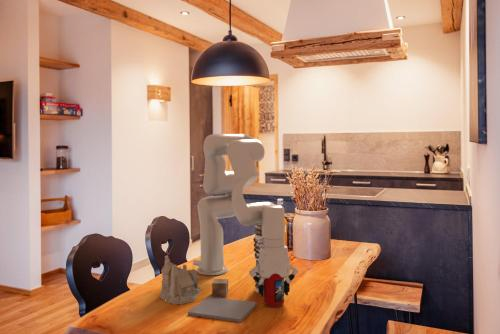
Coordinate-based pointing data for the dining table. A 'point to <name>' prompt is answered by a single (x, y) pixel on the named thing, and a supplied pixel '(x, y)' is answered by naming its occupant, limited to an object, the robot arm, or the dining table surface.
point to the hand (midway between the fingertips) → (274, 294)
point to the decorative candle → (257, 249)
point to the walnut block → (220, 288)
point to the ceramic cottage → (178, 284)
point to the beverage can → (274, 290)
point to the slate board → (223, 309)
